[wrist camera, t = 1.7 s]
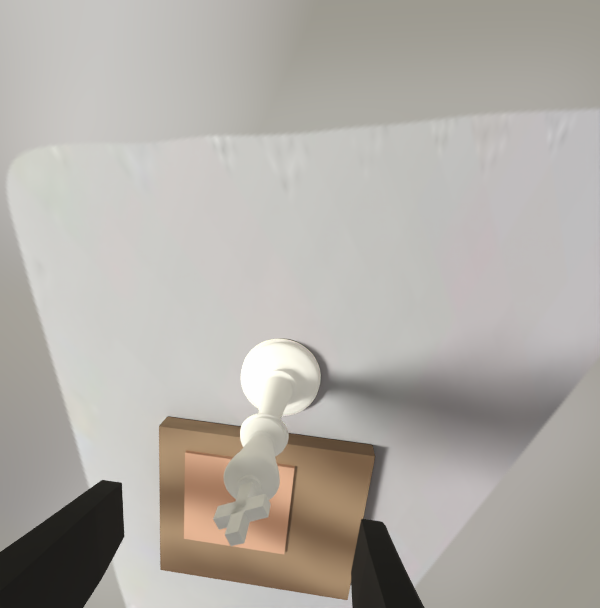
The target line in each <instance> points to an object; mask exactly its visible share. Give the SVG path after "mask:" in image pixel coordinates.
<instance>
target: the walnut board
mask: <svg viewBox="0 0 600 608" xmlns="http://www.w3.org/2000/svg"><path fill="white" fill-rule="evenodd" d="M240 429H241V427H239V426H232V425H224V424H217V423H210V422H203V421H195V420H188V419H181V418H174V417H167V418H166V419H165V420H164V421H163V422H162V423H161V425H160V426H159V467H160V565H161V570H165V571H171V572H178V573H184V574H190V575H196V576H202V577H208V578H214V579H221V580H227V581H233V582H239V583H245V584H251V585H257V586H264V587H270V588H276V589H282V590H288V591H294V592H300V593H307V594H313V595H319V596H325V597H331V598H337V599H343V600H347V599H348V594H349V589H350V584H351V570H352V564H353V559H354V554H355V549H356V543H357V538H358V533H359V528H360V523H361V519H363V517H364V511H365V506H366V501H367V496H368V491H369V486H370V480H371V475H372V470H373V465H374V460H375V454H374V450H373V446H372V445H369V444H362V443H355V442H347V441H340V440H333V439H326V438H318V437H311V436H304V435H297V434H289V433H288V434H289V439H288V443H287V445H286V447H285V448H284V450H283V451H282V452H281V453H280V454H279V455H277V456H275V458H276V463H277V466H278V470H279V476H280V484H279V488H278V491H277V492H276V494H275V495H274V496H273V497H272V498H271V499H270V500H269V502H270V504H271V505H270V511H269V516H268V517H267V518H263V519H259V520H255V521H251V522H250V523H249V527H248V531H247V535H246V539H245V543H242V544H238V545H234V546H230V544H229V542H228V540H227V538H226V537H225V532H226V529H227V528H224V529H220V530H219V529H218V527H217V525H216V523H215V522H214V520H213V518H214V515H215V513H216V510H217V507H218V506H221V505H224V504H228V503H232V502H235V501H236V499H235V498H234V497H232V496H231V495H230V493H229V492H228V491H227V489H226V487H225V484H224V471H225V469H226V466H227V465H228V463H229V462H230V461H231V460H232V458H233V457H234V456H235V455H236V454H237V453H239V452H240V451H241V450H242V449H243V446H242V443H241V440H240Z"/></svg>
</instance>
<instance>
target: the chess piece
mask: <svg viewBox="0 0 600 608" xmlns="http://www.w3.org/2000/svg"><path fill="white" fill-rule="evenodd" d="M320 381H321V373H320V368H319V365H318V362H317V360H316V358H315V357H314V355H313V354H312V353H311V352H310V351H309V350H308V349H307V348H306V347H304V346H303V345H301V344H299V343H297V342H295V341H292V340H288V339H271V340H267V341H264V342H262V343H260V344H258V345H257V346H255V347H254V348H253V349H252V350H251V351H250V352H249V353H248V355H247V356H246V358H245V360H244V363H243V367H242V371H241V385H242V388H243V391H244V393H245V395H246V397H247V398H248V400H249V401H250V402H251V403H252V404H253V405H254V406H255V407H256V408H258V409H259V413H258V414H254V415H252V416H250V417H248V418H247V419H246V420H245V421H244V422H243V424H242V426H241V429H240V440H241V443H242V446H243V449H242V450H241V451H240V452H239V453H237V454H236V455H235V456H234V457H233V458H232V460H231V461H230V462H229V463H228V465H227V466H226V469H225V471H224V484H225V487H226V489H227V491H228V492H229V493H230V495H231V496H232V497H234V498H235V499H236V501H235V502H232V503H228V504H224V505H221V506H218V507H217V510H216V513H215V515H214V518H213V520H214V522H215V523H216V525H217V527H218V529H219V530H220V529H224V528H227V529H226V532H225V537H226V538H227V540H228V542H229V544H230V546H234V545H238V544H242V543H245V539H246V535H247V531H248V527H249V523H250V522H251V521H255V520H259V519H263V518H267V517H268V516H269V511H270V505H271V504H270V502H269V500H270V499H271V498H272V497H273V496H274V495H275V494H276V492H277V491H278V488H279V484H280V476H279V470H278V466H277V463H276V458H275V456H277V455H279V454H280V453H281V452H282V451H283V450H284V448H285V447H286V445H287V443H288V439H289V434H288V430H287V427H286V426H285V424H284V423H283V422H282V421H281V417H282V416H288V415H293V414H296V413H299V412H301V411H302V410H304V409H305V408H307V407H308V406H309V405H310V404H311V403H312V402H313V400H314V399H315V397H316V395H317V392H318V389H319V386H320Z"/></svg>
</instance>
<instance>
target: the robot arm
mask: <svg viewBox="0 0 600 608" xmlns="http://www.w3.org/2000/svg"><path fill="white" fill-rule="evenodd" d="M123 538H124V521H123V500H122V483H119V482H112V481H106V480H102V481H100V482H99V483H97V484H96V485H94V486H93V487H92V488H90V489H89V490H87V491H86V492H85V493H83V494H82V495H80V496H79V497H78V498H76V499H75V500H73V501H72V502H71V503H69V504H68V505H66V506H65V507H64V508H62V509H61V510H60V511H58V512H57V513H55V514H54V515H52V516H51V517H50V518H48V519H47V520H45V521H44V522H43V523H41V524H40V525H38V526H37V527H36V528H34V529H33V530H31V531H30V532H28V533H27V534H26V535H24V536H23V537H21V538H20V539H18V540H17V541H15V542H14V543H13V544H11V545H10V546H8V547H7V548H5V549H4V550H3V551H1V552H0V608H83V607H84V605H85V604H86V602H87V601H88V599H89V598H90V596H91V595H92V593H93V592H94V590H95V588H96V587H97V585H98V584H99V582H100V581H101V579H102V577H103V575H104V573H105V572H106V570H107V568H108V566H109V564H110V562H111V561H112V559H113V557H114V555H115V553H116V551H117V549H118V547H119V545H120V543H121V542H122V540H123ZM351 584H352V606H353V608H424V606H423V604H422V602H421V600H420V598H419V596H418V594H417V592H416V590H415V588H414V586H413V584H412V582H411V580H410V578H409V576H408V574H407V572H406V570H405V568H404V566H403V564H402V562H401V559H400V557H399V555H398V553H397V551H396V549H395V546H394V544H393V542H392V540H391V537H390V535H389V533H388V531H387V528H386V526H385V525H384V523H383V522H379V521H373V520H366V519H361V523H360V528H359V533H358V538H357V543H356V549H355V554H354V559H353V564H352V570H351Z"/></svg>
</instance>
